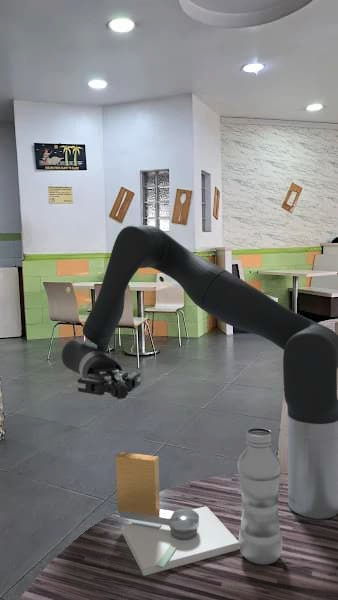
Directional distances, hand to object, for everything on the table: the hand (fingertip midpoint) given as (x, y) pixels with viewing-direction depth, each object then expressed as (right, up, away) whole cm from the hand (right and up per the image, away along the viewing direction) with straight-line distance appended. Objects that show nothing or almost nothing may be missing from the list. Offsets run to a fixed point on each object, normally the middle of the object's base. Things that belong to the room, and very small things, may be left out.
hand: (122, 393), depth 83 cm
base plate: (+10, -23, -5) cm, 26 cm away
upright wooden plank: (+6, -21, -4) cm, 22 cm away
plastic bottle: (+22, -24, -10) cm, 34 cm away
